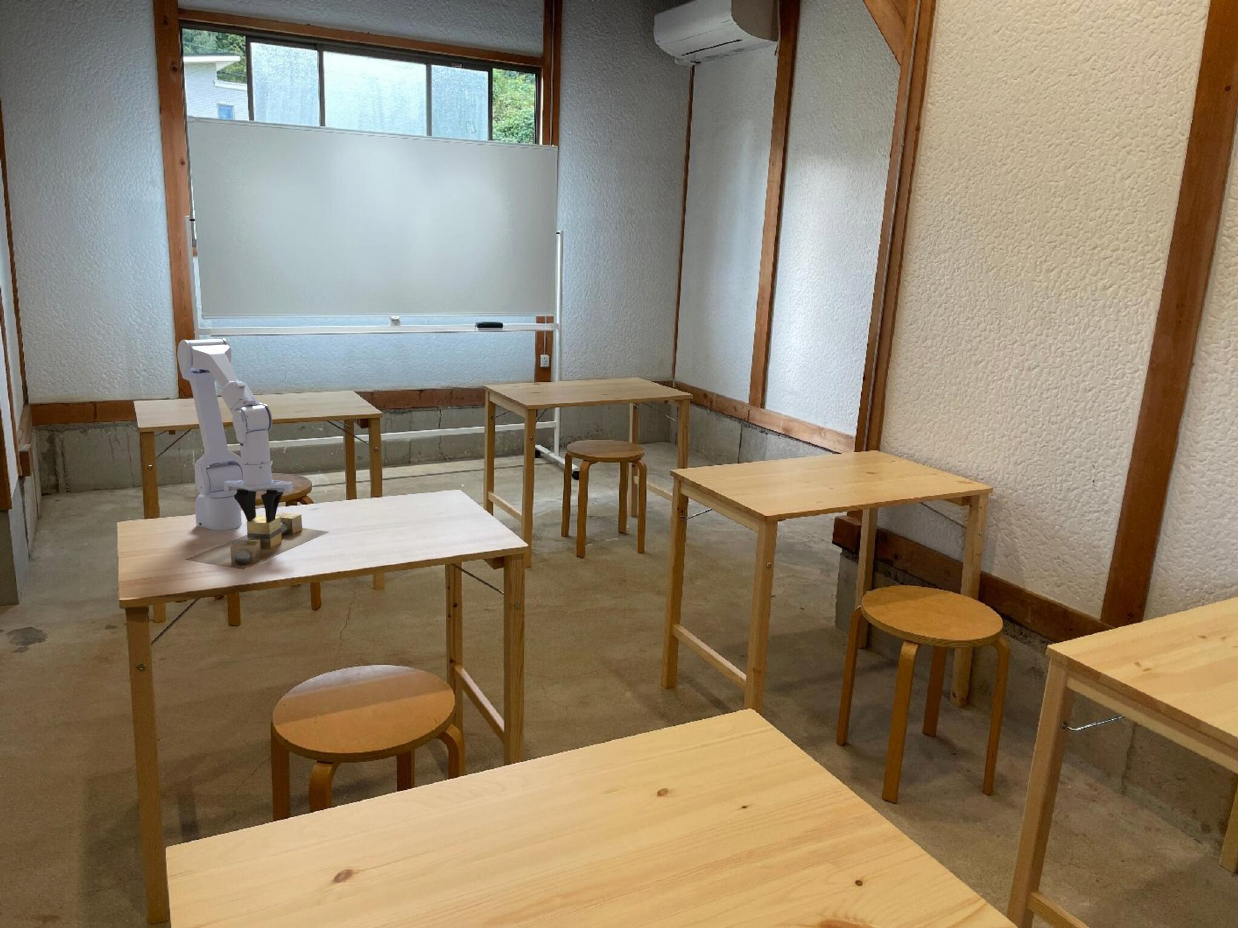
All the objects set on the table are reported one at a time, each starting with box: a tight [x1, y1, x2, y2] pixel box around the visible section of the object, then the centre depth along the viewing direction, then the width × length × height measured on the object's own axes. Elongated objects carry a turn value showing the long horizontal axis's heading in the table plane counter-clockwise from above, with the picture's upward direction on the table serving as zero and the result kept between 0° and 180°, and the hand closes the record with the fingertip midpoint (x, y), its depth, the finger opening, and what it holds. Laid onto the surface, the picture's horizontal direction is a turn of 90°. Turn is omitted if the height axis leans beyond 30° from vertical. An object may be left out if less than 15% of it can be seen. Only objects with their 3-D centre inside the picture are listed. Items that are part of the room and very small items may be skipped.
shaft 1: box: [230, 538, 262, 565], centre depth 183 cm, size 9×5×4 cm, turn 6°
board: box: [184, 527, 329, 570], centre depth 192 cm, size 15×27×1 cm, turn 161°
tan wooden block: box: [246, 514, 282, 550], centre depth 191 cm, size 5×5×6 cm
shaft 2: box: [276, 511, 303, 535], centre depth 199 cm, size 9×5×4 cm, turn 166°
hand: (261, 523), depth 190 cm, fingers closed on tan wooden block, 4 cm apart
